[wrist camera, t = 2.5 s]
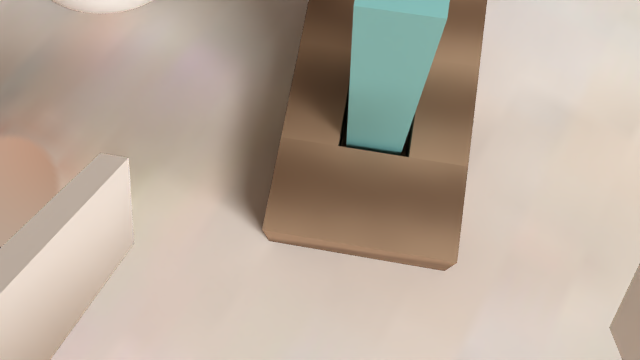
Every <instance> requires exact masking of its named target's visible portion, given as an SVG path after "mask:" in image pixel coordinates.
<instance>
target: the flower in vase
mask: <svg viewBox="0 0 640 360" xmlns="http://www.w3.org/2000/svg"><path fill="white" fill-rule="evenodd" d="M52 1H53V2H55V3H57V4H59V5H61V6H63V7H66V8H69V9H72V10H75V11H79V12H85V13H95V14H107V13H118V12H124V11H128V10H132V9H135V8H138V7H141V6H143V5H146V4H148V3H150V2H151V1H153V0H52Z"/></svg>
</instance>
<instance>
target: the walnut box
mask: <svg viewBox="0 0 640 360" xmlns="http://www.w3.org/2000/svg"><path fill="white" fill-rule="evenodd" d="M354 1H355V0H309V2H308V7H307V12H306V16H305V21H304V26H303V31H302V36H301V41H300V46H299V51H298V56H297V61H296V65H295V70H294V75H293V80H292V85H291V90H290V95H289V100H288V105H287V109H286V114H285V119H284V124H283V129H282V134H281V139H280V144H279V149H278V154H277V158H276V163H275V168H274V173H273V178H272V183H271V188H270V193H269V198H268V203H267V207H266V212H265V217H264V222H263V227H262V230H263V232H264V233H265V235H266V236H267V238H268V239H269V241H273V242H279V243H285V244H291V245H296V246H302V247H308V248H314V249H320V250H326V251H331V252H337V253H343V254H349V255H355V256H361V257H367V258H372V259H378V260H384V261H390V262H396V263H402V264H407V265H413V266H419V267H425V268H431V269H437V270H443V271H445V270H447V269H448V268H450V267H451V266H453V265H454V264H456V263H457V258H458V249H459V241H460V232H461V223H462V214H463V206H464V197H465V188H466V180H467V171H468V162H469V153H470V145H471V136H472V127H473V118H474V110H475V101H476V92H477V84H478V75H479V66H480V57H481V49H482V40H483V31H484V22H485V14H486V5H487V0H450V2H449V9H448V17H447V21H446V24H445V27H444V30H443V33H442V36H441V39H440V41H439V44H438V47H437V50H436V53H435V56H434V59H433V62H432V65H431V68H430V71H429V73H428V76H427V79H426V82H425V85H424V88H423V91H422V94H421V97H420V100H419V103H418V105H417V108H416V111H415V114H414V117H413V120H412V123H411V126H410V129H409V132H408V135H407V137H406V140H405V143H404V146H403V149H402V152H401V155H400V156H398V155H392V154H385V153H379V152H373V151H366V150H360V149H354V148H347V147H346V142H347V123H348V104H349V85H350V66H351V47H352V28H353V8H354Z"/></svg>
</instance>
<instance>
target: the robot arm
mask: <svg viewBox="0 0 640 360" xmlns="http://www.w3.org/2000/svg"><path fill="white" fill-rule="evenodd" d="M133 245H134V232H133V217H132V201H131V185H130V170H129V157H123V156H117V155H111V154H105V153H100V154H99V155H97V156H96V157H95V158H94V159H93V160H92V161H91V162H90V163H89V164H88V165H87V166H86V167H85V168H84V169H83V170H82V171H81V172H80V173H78V174H77V175H76V176H75V177H74V178H73V179H72V180H71V181H70V182H69V183H68V184H67V185H66V186H65V187H64V188H63V189H62V190H61V191H60V192H58V193H57V194H56V195H55V196H54V197H53V198H52V199H51V200H50V201H49V202H48V203H47V204H46V205H45V206H44V207H43V208H42V209H41V210H40V211H38V212H37V213H36V214H35V215H34V216H33V217H32V218H31V219H30V220H29V221H28V222H27V223H26V224H25V225H24V226H23V227H22V228H21V229H20V230H18V231H17V232H16V233H15V234H14V235H13V236H12V237H11V238H10V239H9V240H8V241H7V242H6V243H5V244H4V245H3V246H2V247H0V360H50V359H51V358H52V357H53V355H54V354H55V353H56V351H57V350H58V348H59V347H60V346H61V344H62V343H63V341H64V340H65V339H66V337H67V336H68V335H69V333H70V332H71V330H72V329H73V328H74V326H75V325H76V323H77V322H78V321H79V319H80V318H81V317H82V315H83V314H84V312H85V311H86V310H87V308H88V307H89V306H90V304H91V303H92V301H93V300H94V299H95V297H96V296H97V294H98V293H99V292H100V290H101V289H102V288H103V286H104V285H105V283H106V282H107V281H108V279H109V278H110V276H111V275H112V274H113V272H114V271H115V270H116V268H117V267H118V265H119V264H120V263H121V261H122V260H123V258H124V257H125V256H126V254H127V253H128V252H129V250H130V249H131V247H132V246H133ZM609 328H610V330H611V333H612V335H613V338H614V340H615V343H616V345H617V348H618V350H619V353H620V355H621V358H622V360H640V264H639V266H638V268H637V271H636V273H635V275H634V277H633V279H632V281H631V283H630V285H629V287H628V289H627V292H626V294H625V296H624V298H623V300H622V302H621V304H620V306H619V308H618V311H617V313H616V315H615V317H614V319H613V321H612V323H611V325H610V327H609Z"/></svg>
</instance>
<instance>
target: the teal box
mask: <svg viewBox="0 0 640 360" xmlns="http://www.w3.org/2000/svg"><path fill="white" fill-rule="evenodd" d="M449 2H450V0H355V1H354V8H353V28H352V47H351V66H350V85H349V104H348V123H347V142H346V147H347V148H354V149H360V150H366V151H373V152H379V153H385V154H392V155H398V156H400V155H401V152H402V149H403V146H404V143H405V140H406V137H407V135H408V132H409V129H410V126H411V123H412V120H413V117H414V114H415V111H416V108H417V105H418V103H419V100H420V97H421V94H422V91H423V88H424V85H425V82H426V79H427V76H428V73H429V71H430V68H431V65H432V62H433V59H434V56H435V53H436V50H437V47H438V44H439V41H440V39H441V36H442V33H443V30H444V27H445V24H446V21H447V17H448V9H449Z"/></svg>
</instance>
